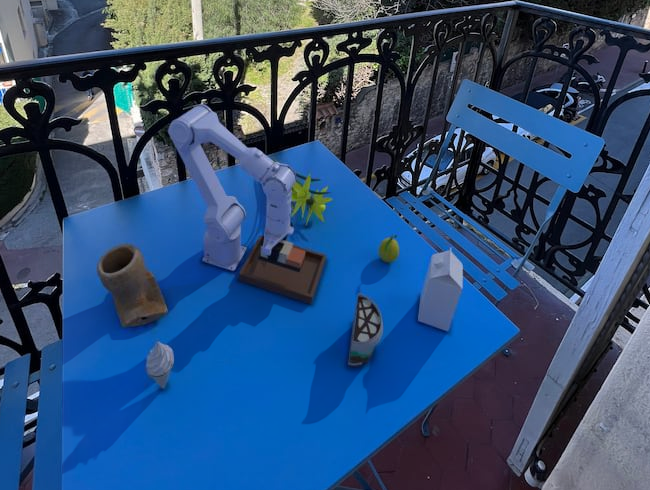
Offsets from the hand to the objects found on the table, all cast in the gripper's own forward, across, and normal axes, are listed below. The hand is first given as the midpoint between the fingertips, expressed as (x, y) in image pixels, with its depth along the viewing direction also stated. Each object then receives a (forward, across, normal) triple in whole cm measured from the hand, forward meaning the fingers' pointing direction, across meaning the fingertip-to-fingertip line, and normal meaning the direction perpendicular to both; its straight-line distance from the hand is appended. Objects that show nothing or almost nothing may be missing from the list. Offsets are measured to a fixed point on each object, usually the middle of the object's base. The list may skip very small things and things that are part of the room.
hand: (276, 253), depth 102 cm
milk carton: (+8, +4, -40) cm, 42 cm away
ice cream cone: (+9, -32, +11) cm, 35 cm away
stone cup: (+9, -19, +28) cm, 35 cm away
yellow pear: (+9, +16, -27) cm, 33 cm away
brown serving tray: (+8, +2, -2) cm, 9 cm away
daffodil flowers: (+9, +28, +6) cm, 29 cm away
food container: (+8, -10, -26) cm, 29 cm away
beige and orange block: (+1, 0, -2) cm, 2 cm away
